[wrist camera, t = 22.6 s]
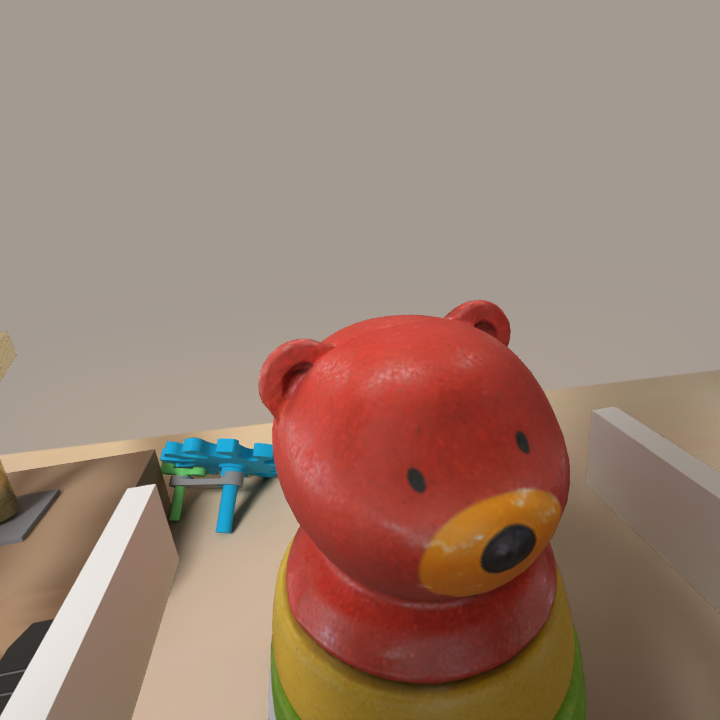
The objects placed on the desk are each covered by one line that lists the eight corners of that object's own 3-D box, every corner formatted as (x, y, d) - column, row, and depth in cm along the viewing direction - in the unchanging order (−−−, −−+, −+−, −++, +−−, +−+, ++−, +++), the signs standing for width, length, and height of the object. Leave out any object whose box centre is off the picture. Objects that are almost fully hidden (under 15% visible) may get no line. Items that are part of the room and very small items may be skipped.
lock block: (171, 505, 34) (153, 445, 32) (117, 652, 23) (85, 574, 21) (-27, 540, 33) (-57, 479, 31) (-188, 716, 22) (-250, 637, 20)
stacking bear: (308, 1141, 10) (57, 533, 4) (272, 702, 20) (177, 310, 14) (681, 933, 13) (868, 342, 7) (492, 627, 22) (497, 263, 16)
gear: (327, 458, 35) (256, 423, 27) (321, 538, 33) (241, 527, 25) (213, 463, 39) (120, 433, 31) (200, 535, 37) (95, 524, 28)
